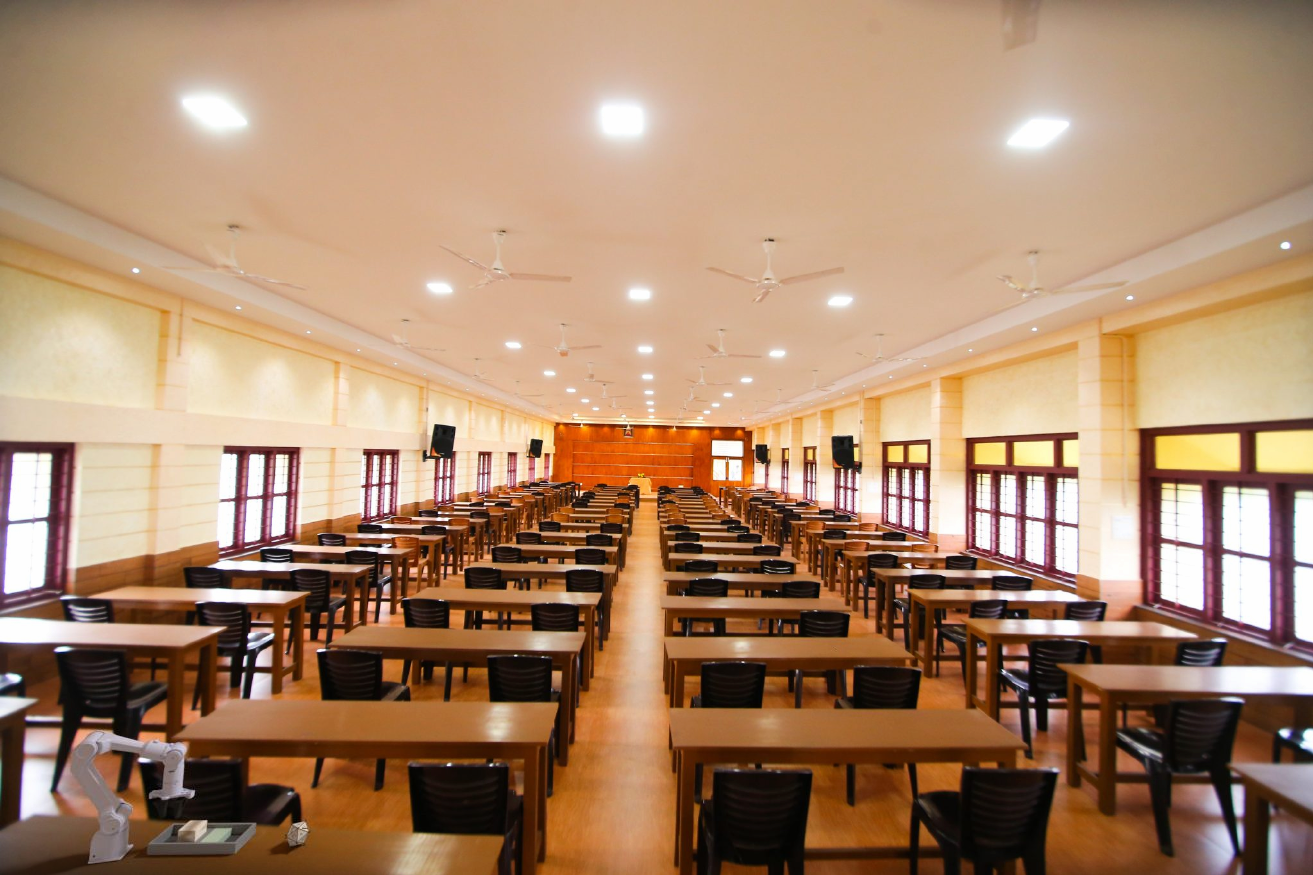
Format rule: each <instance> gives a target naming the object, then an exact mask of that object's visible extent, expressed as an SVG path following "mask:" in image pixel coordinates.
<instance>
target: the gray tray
mask: <svg viewBox="0 0 1313 875" xmlns="http://www.w3.org/2000/svg"><path fill="white" fill-rule="evenodd" d="M187 823H188V822H187ZM187 823H186V822H185V823H180V822H179V823H178V822H177V823H176V822H175V823H172V824H170V826H168V827H167V828H165V829H164V830H163V831H162V832H160V834H157V836H156V837H155V838H153V839H152V840H151V841H150V842H149V843H148V844H147V848H146V855H147V856H165V855H166V856H170V855H171V856H175V855H176V856H178V855H180V856H181V855H184V856H185V855H192V856H193V855H236V854H237V853H238V851H240V849H241V848H243V846H244V845H245V844H247V842H248V841H249V840H250V839H252V837H253V836H254V835H255V834H256V833H257V832H256V830H257V822H210V823H209V822H207V830H206V832H205V833H204V834H203V835H202V836H201V837H200V838H199V839H197V840H196V841H195V842H177V840H178V830H180V829H181V828H182V827H183V826H184V825H186V824H187ZM249 826H250V827H249ZM255 827H256V828H255ZM252 835H253V836H252Z"/></svg>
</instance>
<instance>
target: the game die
mask: <svg viewBox="0 0 1313 875" xmlns="http://www.w3.org/2000/svg"><path fill="white" fill-rule="evenodd" d="M307 821H308V818H307V819H305V820H304V821H301V822H299V821H298V822H296V823H292V822H291V821H290V827H289V829H288V831H287V834H284V839H286V840H287V843H288V845H289V846H288V848H287V849H288V850H289V849H290V848H291V847H294V846H298V845H299V846H300V845H302V844H303V846H306V843H305V842H306V840H307V838H308V835H309V833H311V832H312V831H311V830H308V829H309V826H308V824H307ZM302 828H308V829H302Z"/></svg>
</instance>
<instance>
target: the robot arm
mask: <svg viewBox="0 0 1313 875" xmlns="http://www.w3.org/2000/svg"><path fill="white" fill-rule="evenodd" d="M112 750H113V751H119V752H120V751H121V752H128V753H135V754H139V756H140V758H142V759H147V760H153V761H158V762H162V763H163V765H164V769H163V776H162V777H163V779H162V789H158V790H152V791H150V792H149V794H148V799H149V800H151V799H152V800H153V799H154V801H153V802H152V805H153V806H154V808H155V809H156V811H157V814H158V817H159V820H163V818H165V817H166V816H167V811H168V810H167V809H168V804H169V800H170V799H174V801H173V802H172V803H173V804H172V805H173V807H174V813H173V814H174V815H173V816H174V820H177V819H179V818H180V817H182V816H181V815H182V812H183V810H184V807H185V805H186V803H187V802H188V800H189V799H192V798H193V797H194V796H195V792H196V790H195V789H194V790H193V789H188V788H184V787H183V784H184V783H183V782H184V774H185V773H184V772H185V770H184V769H185V755H186V753H187V751H188V747H187V745H186V744H185V743H183V742H181V741H179V742H175V743H173V742H170V743H168V742H163V741H160V739H158V738H157V739H156V738H155V740H154V739H153V740H148V741H146V742H143V741H140V740H136V739H131V738H130V737H129V738H128V737H124V736H120V735H117V734H115V733H113V732H111V731H104V730H95V731H91V732H90V733H89V734H87V735H86V736H85V738H84V739H83V740H82V741H80V742H79V743H78V744H77V745H76V746H75V747H74V748H73V750H72V751H71V754H70V757H71V760H70V767H69V771H70V773H71V774H72V776H73V777H74V780H76V782H77V783H78V785H79V786H80V787H81V788H82V790H83V792H84V793H85V795H86V796H87V797H88V799H89V801H91V803H92V804H93V806H94V807H95V809H96V811H97V821H98V823H99V830H97V831H96V832H95V833H94V835H93V836H92V838H91V841H90V847H89V848H90V849H89V859H88V861H87V864H88V865H89V864H90V865H91V864H97V863H98V864H99V863H106V862H112V861H113V862H114V861H121V859H123V858H124V856H126V855H127V853H128V852H129V851H130V850H131V849H132V848H133V847H134V844H133V843H132V844H129V835H130V834H129V833H130V832H129V831H130V821H129V817H130V816H131V815H132V813H133V806H132V805H131V803H129V802H126V801H124V799H123V798H120V797H117V796H116V795H115V793H114V792H113V790H112V789H111V787H110V786H109V784H108V783H107V781H106V780H105V779H104V777H103V776H102V774H101V772H100V771H99V770H98V768H97V767H96V765H95V764H94V761H95V759H96V757H97V755H100V756H101V755H102V754H105V753H107V752H110V751H112ZM175 798H177V799H175Z"/></svg>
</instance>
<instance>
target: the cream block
mask: <svg viewBox="0 0 1313 875" xmlns="http://www.w3.org/2000/svg"><path fill="white" fill-rule="evenodd" d="M207 823H208V820H207V819H206V820H199V819H198V820H196V819H195V820H189V821H188V822H187V824H186V825H184V826H183V827H182V828H181V829H180V830H178V840H177V842H195V841H196V840H197V839H199V838H200V837H201V836H202V835H203V834H204V833H205V832H206V830H207Z"/></svg>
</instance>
